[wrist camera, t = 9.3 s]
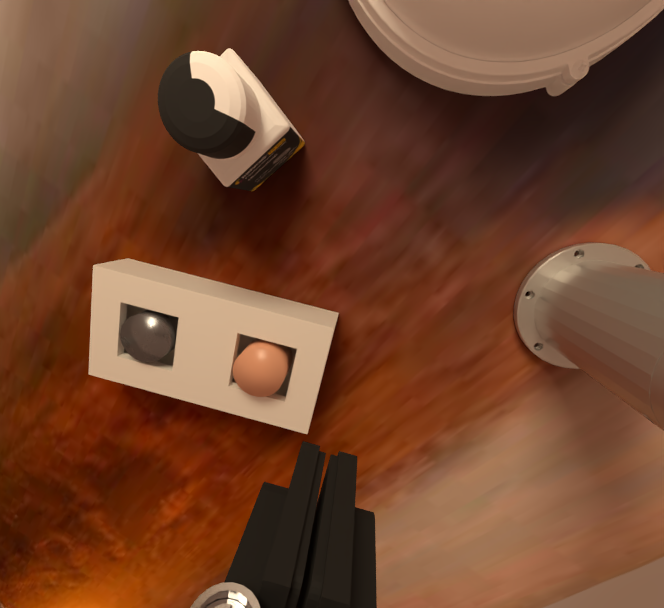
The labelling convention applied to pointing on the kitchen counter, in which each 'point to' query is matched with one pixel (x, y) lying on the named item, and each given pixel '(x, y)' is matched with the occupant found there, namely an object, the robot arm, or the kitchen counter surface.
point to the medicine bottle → (226, 118)
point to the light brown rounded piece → (262, 367)
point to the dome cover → (501, 39)
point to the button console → (209, 340)
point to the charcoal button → (149, 335)
